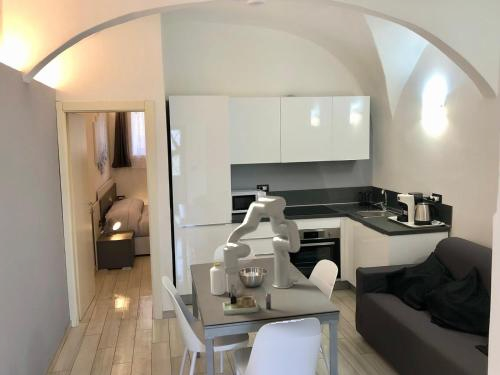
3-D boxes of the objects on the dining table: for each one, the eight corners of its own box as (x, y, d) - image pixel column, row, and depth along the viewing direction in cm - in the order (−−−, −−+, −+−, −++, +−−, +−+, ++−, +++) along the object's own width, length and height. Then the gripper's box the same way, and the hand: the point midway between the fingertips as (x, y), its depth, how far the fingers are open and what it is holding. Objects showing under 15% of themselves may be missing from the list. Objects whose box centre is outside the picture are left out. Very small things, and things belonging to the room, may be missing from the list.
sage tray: (255, 304, 248) (255, 299, 248) (258, 312, 236) (258, 307, 236) (222, 306, 246) (222, 302, 246) (224, 314, 234) (224, 310, 234)
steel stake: (270, 307, 242) (270, 293, 241) (271, 309, 239) (271, 295, 239) (265, 308, 242) (265, 293, 241) (266, 310, 239) (266, 295, 238)
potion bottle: (211, 291, 271) (210, 262, 269) (225, 290, 271) (224, 261, 269) (211, 296, 262) (210, 266, 260) (225, 295, 263) (224, 265, 261)
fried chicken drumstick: (253, 304, 245) (252, 295, 244) (254, 309, 238) (254, 300, 238) (230, 306, 243) (230, 297, 243) (231, 310, 237) (231, 301, 236)
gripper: (223, 265, 246) (224, 295, 248) (225, 275, 229) (227, 307, 231) (236, 264, 247) (238, 294, 249) (240, 273, 230) (241, 306, 232)
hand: (232, 300), depth 240 cm, fingers open, 9 cm apart
